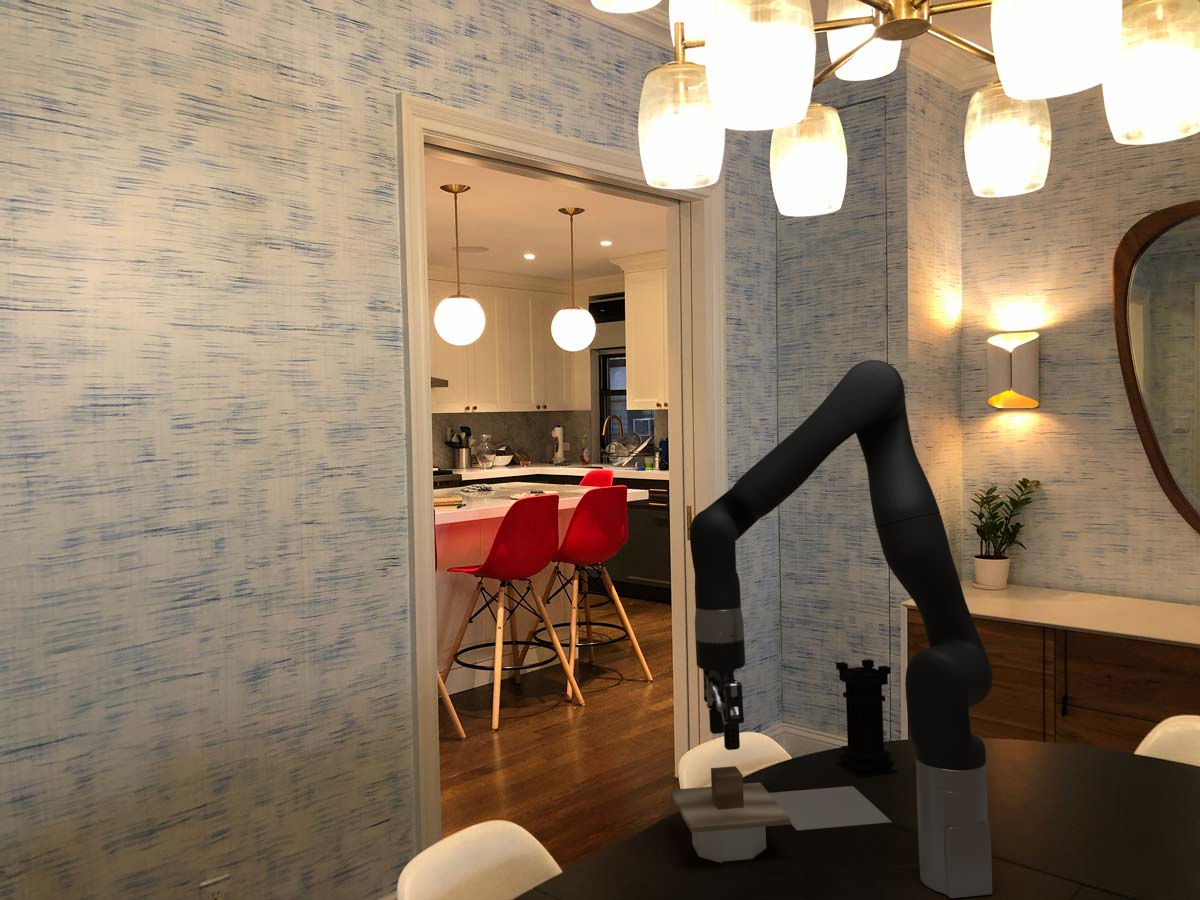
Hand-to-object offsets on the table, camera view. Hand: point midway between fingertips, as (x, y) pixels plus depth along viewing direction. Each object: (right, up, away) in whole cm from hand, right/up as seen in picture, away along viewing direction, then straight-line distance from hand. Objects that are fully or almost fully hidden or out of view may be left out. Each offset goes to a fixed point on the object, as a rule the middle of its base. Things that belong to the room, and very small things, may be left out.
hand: (724, 740), depth 141 cm
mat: (+19, -16, +14) cm, 29 cm away
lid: (+1, -11, 0) cm, 11 cm away
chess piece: (+31, -16, +31) cm, 47 cm away
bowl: (+1, -17, +1) cm, 17 cm away
